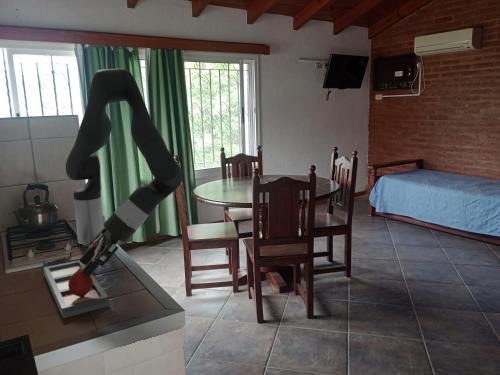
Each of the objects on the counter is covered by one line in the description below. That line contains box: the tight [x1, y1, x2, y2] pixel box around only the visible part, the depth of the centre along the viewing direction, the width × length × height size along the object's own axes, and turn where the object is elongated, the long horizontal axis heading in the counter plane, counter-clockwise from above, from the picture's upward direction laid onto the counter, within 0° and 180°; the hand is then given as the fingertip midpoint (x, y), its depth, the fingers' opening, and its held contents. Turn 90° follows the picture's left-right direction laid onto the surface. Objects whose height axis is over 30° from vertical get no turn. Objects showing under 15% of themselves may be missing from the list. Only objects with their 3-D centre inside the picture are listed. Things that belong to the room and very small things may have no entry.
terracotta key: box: [62, 288, 99, 305], centre depth 106 cm, size 8×8×1 cm
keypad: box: [43, 259, 110, 319], centre depth 114 cm, size 30×11×3 cm, turn 34°
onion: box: [68, 268, 93, 297], centre depth 105 cm, size 6×6×8 cm
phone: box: [41, 257, 71, 272], centre depth 135 cm, size 8×1×15 cm
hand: (83, 268), depth 105 cm, fingers open, 8 cm apart
